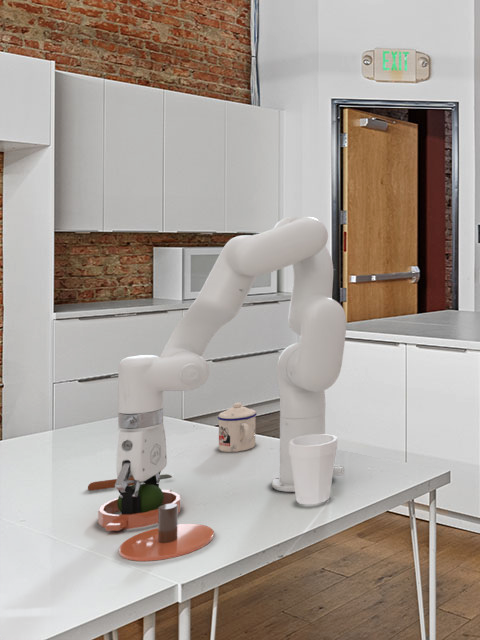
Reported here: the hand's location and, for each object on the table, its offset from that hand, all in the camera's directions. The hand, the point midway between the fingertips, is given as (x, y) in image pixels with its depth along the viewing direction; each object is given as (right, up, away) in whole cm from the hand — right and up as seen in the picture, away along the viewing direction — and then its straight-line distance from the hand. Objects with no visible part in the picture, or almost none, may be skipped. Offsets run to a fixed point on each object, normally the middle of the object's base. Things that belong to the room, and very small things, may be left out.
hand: (140, 509), depth 145 cm
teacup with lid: (-4, -2, +47) cm, 47 cm away
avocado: (0, -1, 0) cm, 1 cm away
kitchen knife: (-13, -2, +18) cm, 22 cm away
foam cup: (+30, -2, +9) cm, 32 cm away
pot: (0, -2, 0) cm, 2 cm away
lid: (+13, -1, -13) cm, 18 cm away
